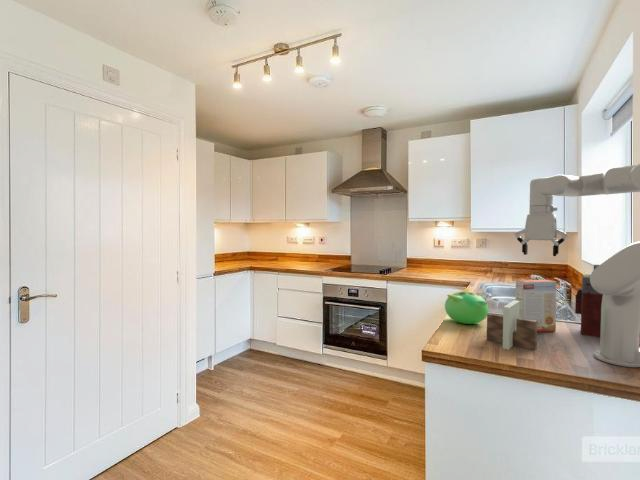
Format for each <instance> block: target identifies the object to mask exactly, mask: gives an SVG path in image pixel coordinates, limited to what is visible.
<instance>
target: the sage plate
mask: <svg viewBox="0 0 640 480" xmlns="http://www.w3.org/2000/svg"><path fill="white" fill-rule="evenodd" d="M502 315H503V343H502V349H504V350H511V348H512V347H513V332H514V331H516V320H517V318H519V301H516V299H515V300H512V301H510V302H509V303H508V304H505V305H504V306H503V313H502Z"/></svg>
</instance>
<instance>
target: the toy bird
mask: <svg viewBox="0 0 640 480" xmlns="http://www.w3.org/2000/svg"><path fill="white" fill-rule="evenodd" d="M446 297H447V298H446V300H445V303H444V310H445V313H446V314H447V316H448V317H449V318H450V319H451V320H453V321H455V322H457V323H461V324H464V325H465V324H466V325H472V324H479V323H481V322H483V321H484V320H485V319H487V314H488V313H489V306H488V305H489V304H488V301H486V300H485V298H484V297H483V296H481V295H480V294H477V293H474V292H471V290H470V289H465V290H463V291H459V292H455V293H452V294H447V295H446Z"/></svg>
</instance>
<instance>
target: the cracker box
mask: <svg viewBox="0 0 640 480" xmlns="http://www.w3.org/2000/svg"><path fill="white" fill-rule="evenodd" d="M515 301H519V318H524V319H531V320H537V333H540V332H556V331H557V329H556V328H557V325H556V323H557V281H556V280H555V281H554V280H552V279H551V280H550V279H516V280H515Z"/></svg>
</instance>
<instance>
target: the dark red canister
mask: <svg viewBox="0 0 640 480" xmlns="http://www.w3.org/2000/svg"><path fill="white" fill-rule="evenodd" d="M599 265H600V264H593V270H594V269H595V268H597V267H598V266H599ZM590 276H591V274H589V273H588V274H583V276H582V278H581V279H582V280H581V288H580V287H579V288H578V290H577V292H576V294H575V300H574V301H575V304H574V305H575V308H574V309H575V310H574V314H578V315H580V335H582V336H589V337H595V338H600V333H601V307H602V297H603V294H601V293H599V292H597V291H596V290H595V289H594V288H593V287H592V285H591V283H590Z"/></svg>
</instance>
